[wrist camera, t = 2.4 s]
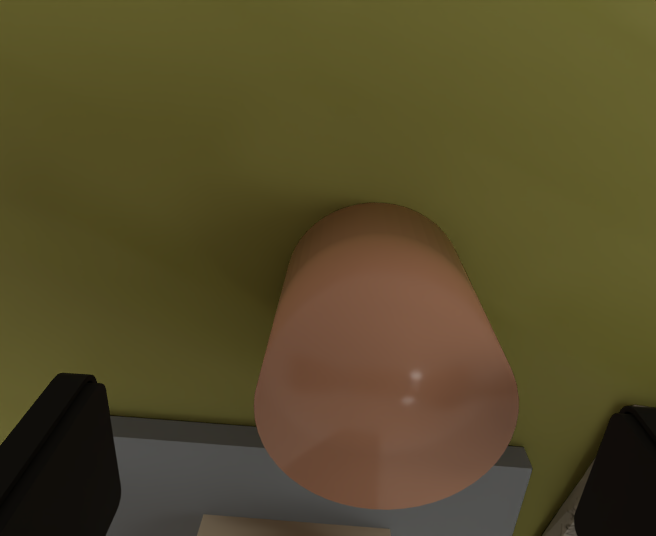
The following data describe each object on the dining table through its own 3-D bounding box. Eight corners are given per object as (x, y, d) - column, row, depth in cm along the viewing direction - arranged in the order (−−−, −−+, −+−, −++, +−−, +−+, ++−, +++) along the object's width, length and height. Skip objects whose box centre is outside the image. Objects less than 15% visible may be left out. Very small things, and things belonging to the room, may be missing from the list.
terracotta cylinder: (476, 209, 15) (547, 311, 10) (447, 365, 17) (490, 518, 12) (288, 196, 15) (253, 290, 10) (283, 353, 18) (254, 500, 12)
